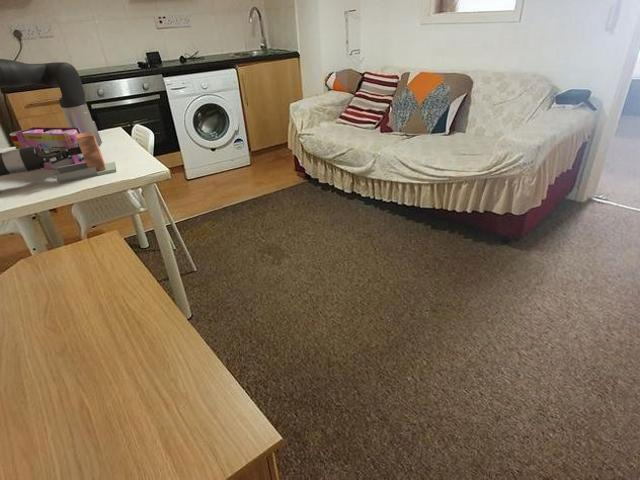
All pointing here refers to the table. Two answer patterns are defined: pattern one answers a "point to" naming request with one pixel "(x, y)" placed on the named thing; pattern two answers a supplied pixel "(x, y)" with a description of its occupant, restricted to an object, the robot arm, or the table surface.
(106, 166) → the chute
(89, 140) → the block
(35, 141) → the gum box
